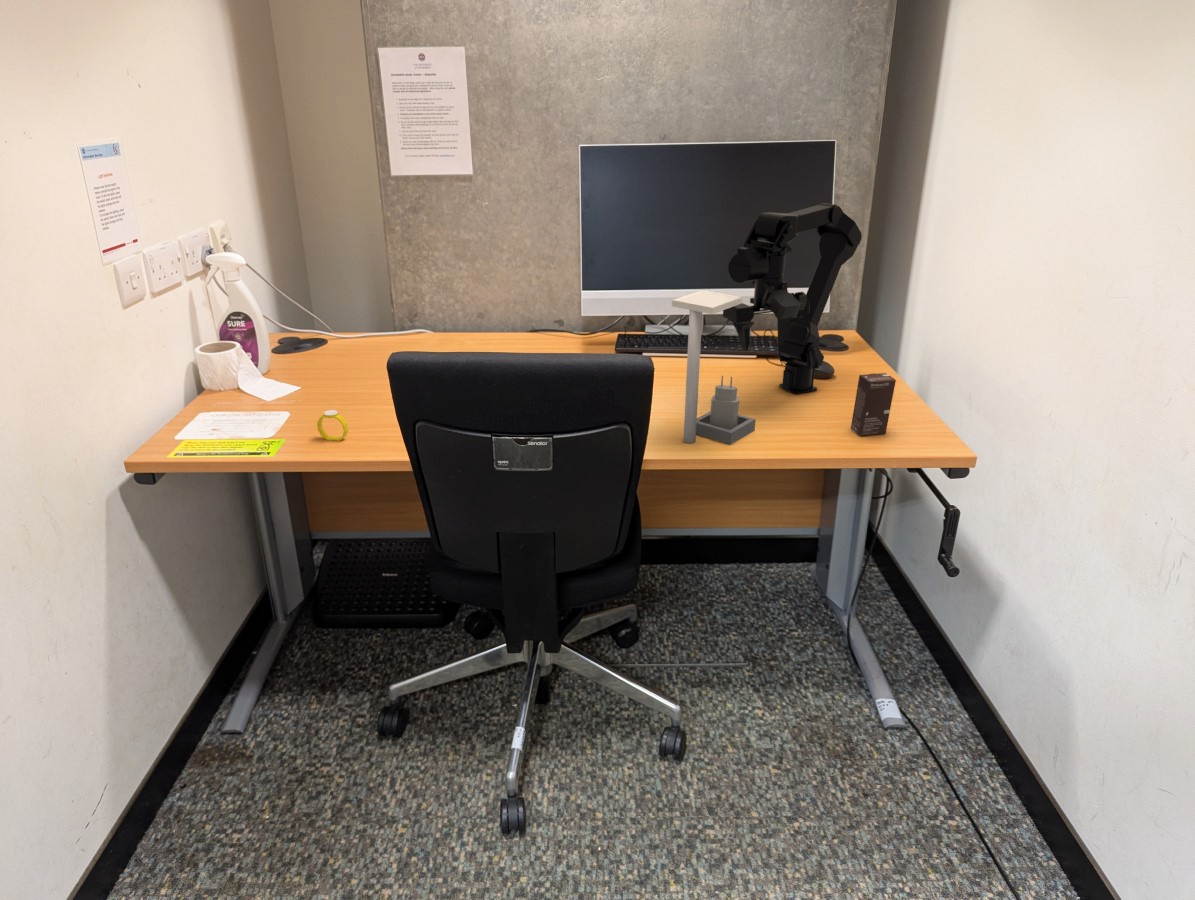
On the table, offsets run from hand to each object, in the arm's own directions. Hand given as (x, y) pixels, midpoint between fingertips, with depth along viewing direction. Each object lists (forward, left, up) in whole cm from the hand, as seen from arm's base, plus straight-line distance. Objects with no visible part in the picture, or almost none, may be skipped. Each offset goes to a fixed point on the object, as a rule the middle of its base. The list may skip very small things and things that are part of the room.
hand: (763, 347), depth 175 cm
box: (-11, +23, -13) cm, 29 cm away
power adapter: (+16, +10, -13) cm, 23 cm away
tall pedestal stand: (+19, +10, -13) cm, 25 cm away
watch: (+89, -20, -13) cm, 92 cm away
